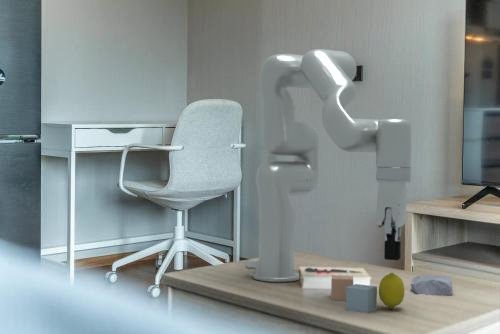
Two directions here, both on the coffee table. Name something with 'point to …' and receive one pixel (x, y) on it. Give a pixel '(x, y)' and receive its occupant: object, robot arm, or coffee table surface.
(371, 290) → the slate block
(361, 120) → the robot arm
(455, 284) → the coffee table surface
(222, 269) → the coffee table surface
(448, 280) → the stone block
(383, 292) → the lemon
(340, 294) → the terracotta block
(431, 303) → the coffee table surface
